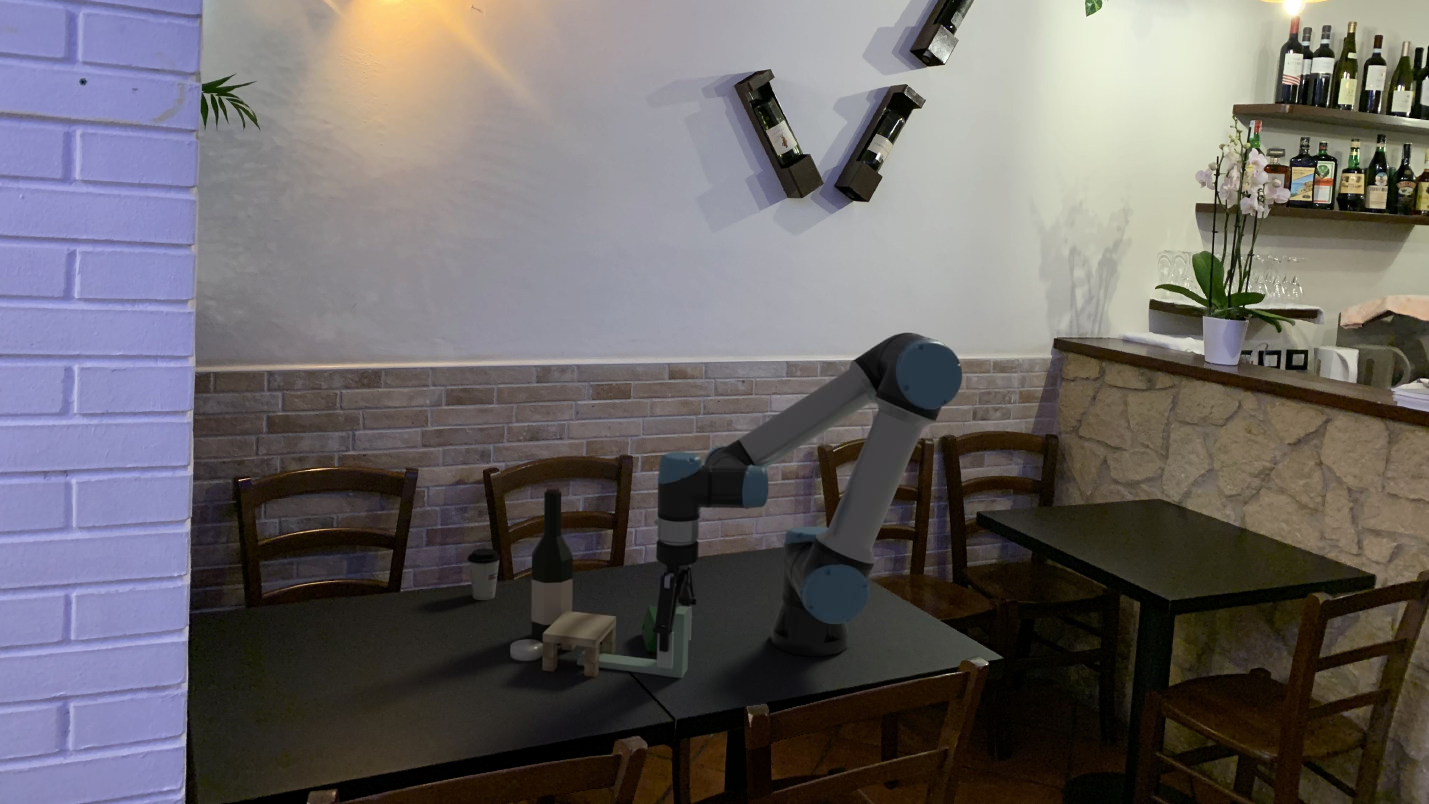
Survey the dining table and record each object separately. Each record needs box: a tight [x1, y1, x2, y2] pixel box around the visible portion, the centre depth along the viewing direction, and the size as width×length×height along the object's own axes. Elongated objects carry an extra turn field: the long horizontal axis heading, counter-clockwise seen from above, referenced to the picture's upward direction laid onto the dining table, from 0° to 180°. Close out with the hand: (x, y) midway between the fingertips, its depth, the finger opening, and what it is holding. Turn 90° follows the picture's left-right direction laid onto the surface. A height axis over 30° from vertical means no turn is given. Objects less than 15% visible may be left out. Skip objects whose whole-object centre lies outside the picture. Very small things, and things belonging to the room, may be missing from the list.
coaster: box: [509, 638, 543, 662], centre depth 201 cm, size 6×6×2 cm
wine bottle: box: [530, 486, 574, 646], centre depth 207 cm, size 8×8×30 cm
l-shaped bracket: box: [576, 606, 689, 679], centre depth 196 cm, size 20×4×12 cm, turn 78°
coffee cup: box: [466, 547, 501, 601], centre depth 230 cm, size 7×7×10 cm
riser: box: [542, 610, 617, 678], centre depth 198 cm, size 10×12×7 cm
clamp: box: [641, 604, 658, 654], centre depth 208 cm, size 12×6×9 cm
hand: (674, 652), depth 194 cm, fingers open, 13 cm apart
